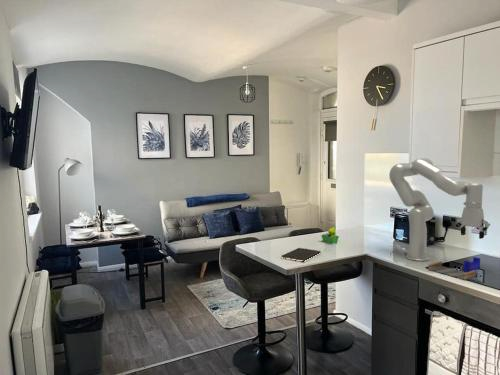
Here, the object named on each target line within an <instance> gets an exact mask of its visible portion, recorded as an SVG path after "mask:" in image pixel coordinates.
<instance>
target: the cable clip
mask: <svg viewBox="0 0 500 375" xmlns="http://www.w3.org/2000/svg"><path fill="white" fill-rule="evenodd" d="M463 262H464V264H463V272H464V271H465V272H470V271H473V270H476V271H477V270H480V269H481V258H480V257H475V256H474V257H473V258H472V261H471V260H470V261H469V260H464V261H463Z"/></svg>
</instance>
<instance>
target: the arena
mask: <svg viewBox="0 0 500 375" xmlns="http://www.w3.org/2000/svg"><path fill="white" fill-rule="evenodd" d="M427 267H428V268H427V270H428V271H431V272H433V273H437V274H441V275H445V276H448V277H452V278H456V279H458V278H459V280H463V281H468V280H469V279H472V278H476V277H477V276H478V275H477V273H478V271H477V270H473V271H470V272H464V270H459V269H455V268H451V267H446V266H443V262H442V261H437V262H434V263H430V264H428V266H427Z"/></svg>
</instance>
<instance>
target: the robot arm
mask: <svg viewBox="0 0 500 375" xmlns="http://www.w3.org/2000/svg"><path fill="white" fill-rule="evenodd" d="M416 175H417V176H418V175H420V176H421V177H423V178H425V179H427V180H429V181H430V182H432V183H433V184H434V185H435V186H436V187H437V189H439V190H441V191H443V192H445V193H446V194H448V195H450V196H452V197H456V196H462V195H463V196H464V195H465V201H464V202H463V205H464V207H463V209H462V212H461V217H459V218H457V219H456V222H457V225H458V226H459V228H460V235H461V236H465V235H466V233H467V232H466V231H467V230H466V229H467V228H466V227H471V228H478V230H480V231H478V232H479V233H478V234H479V235H478V239H480V240H481V239H484V237H485V231H487V230H488V229H489V228H490V226H491V223H490V222H488V221H486V220H485V212H484V209H483V208H482V207H483V189H484V186H483V183H481V182H470V181H469V182H467V181H464V180H463V181H462V180H460V181H454V180H452V179H450V178H449V177H447V176H446V175H444V174H443V169H442V168H440V167H438V166H436V165H434V164H433V161H432V160H431V159H430V158H426V157H425V158H423V157H422V158H421V157H420V158H416V159H414V160H413V161H411V162H403V163H402V162H401V163H397V164H394V165H393V166H392V167H391V169H390V171H389V180H390V183H391V184H392V186H393V187H394V189H395V191H396V193H397V194H398V197H399V198H400V200H401V202H402V203H403V205H404V206H405V207H408V208H411V207H413V208H411V209H410V211H409V212H408V222H409V245H408V246H409V247H408V248H409V249H408V248H405V249H404V250H403V253H407V254H406V256H405V257H406V259H408V260H411V261H417V262H426V261H429V259H430V256H428V255H427V238H428V236H427V235H428V228H427V223H426V222H428V221H430V220H432V219H433V218H434V215H435V213H434V209H433V207H432V205H431V203H430V202H429V200H428V199H427V197H426V195H425V194H424V193H423V192H422V191H420V190H418V189H416V190H414V189H413V188H412V186H411V184H409V182H408V181H407V180H406V179H405V177H413V176H416ZM484 225H485V226H484Z"/></svg>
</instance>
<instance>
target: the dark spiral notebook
mask: <svg viewBox="0 0 500 375" xmlns="http://www.w3.org/2000/svg"><path fill="white" fill-rule="evenodd" d="M319 253H321V250H316V249H309V248H303V247H298V248H296V249H293V250H291V251H287V253H284V254H281V258H282V257H283V258H290V259H296V260H303V261H305V260H307V259H309V258H311V257H313V256H315V255H317V254H319ZM319 255H320V254H319ZM317 256H318V255H317Z"/></svg>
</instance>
